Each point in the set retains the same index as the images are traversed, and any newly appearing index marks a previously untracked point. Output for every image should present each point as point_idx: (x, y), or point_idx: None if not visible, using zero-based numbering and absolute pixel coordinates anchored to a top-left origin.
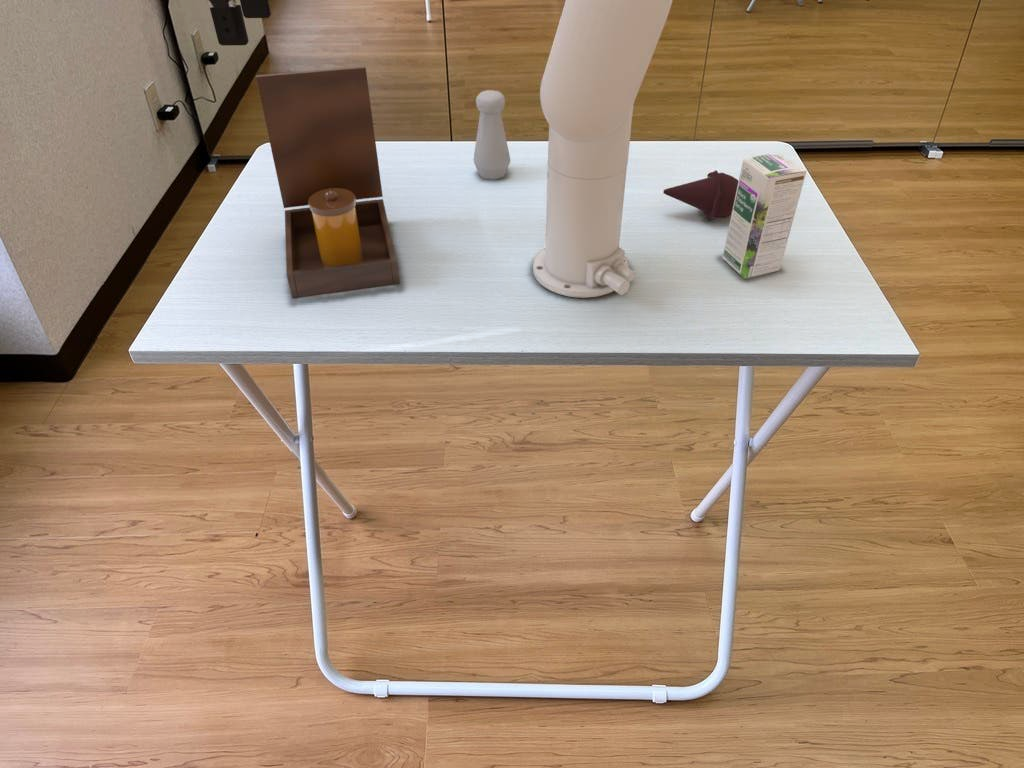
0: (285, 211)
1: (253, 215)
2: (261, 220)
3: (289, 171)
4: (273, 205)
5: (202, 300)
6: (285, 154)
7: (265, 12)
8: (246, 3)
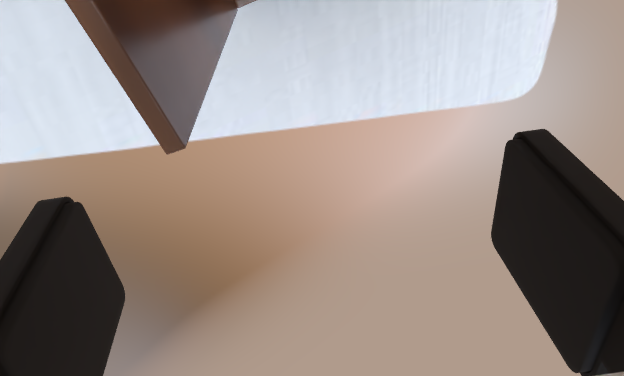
0: (237, 6)
1: None
2: None
3: (215, 6)
4: None
5: (433, 66)
6: (209, 20)
7: (76, 223)
8: (99, 330)
